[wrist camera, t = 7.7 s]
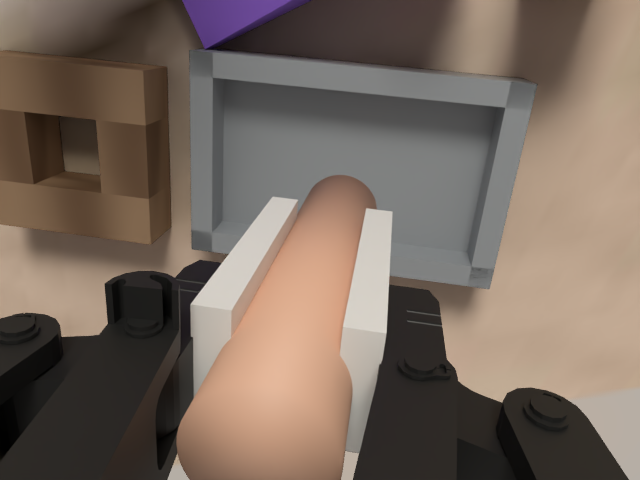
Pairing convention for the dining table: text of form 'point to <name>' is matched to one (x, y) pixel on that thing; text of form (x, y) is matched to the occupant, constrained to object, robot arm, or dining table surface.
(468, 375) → the dining table surface
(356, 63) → the tray
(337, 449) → the dowel
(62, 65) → the dowel block
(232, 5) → the bracket
